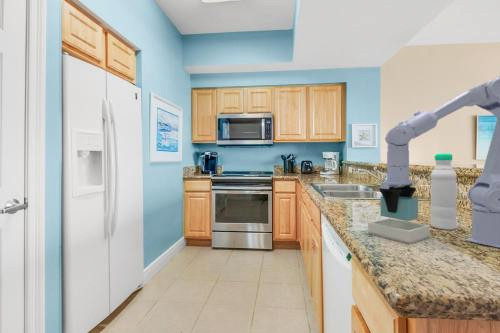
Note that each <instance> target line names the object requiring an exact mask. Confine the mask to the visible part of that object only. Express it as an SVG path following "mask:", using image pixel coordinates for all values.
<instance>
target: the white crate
mask: <svg viewBox="0 0 500 333" xmlns="http://www.w3.org/2000/svg"><path fill="white" fill-rule="evenodd" d="M367 225H368V226H367V228H368V229H367V234H369V235H371V236H372V235H373V236H375V237H376V236H377V237H379V238H383V239H388V240H393V241H395V242H399V243H403V244H407V245H411V244H414V243H418V242H420V241H423V240H426V239H430V238H431V237H430V236H431V235H430V234H431V233H430V230H431V229H430V226H431V225H427V224H422V223H416V222H412V221H404V220H399V219H394V218H389V217H386V218H383V219H382V218H381V219H379V220H374V221H369V222H367Z"/></svg>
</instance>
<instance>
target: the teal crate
mask: <svg viewBox="0 0 500 333" xmlns="http://www.w3.org/2000/svg"><path fill="white" fill-rule="evenodd" d="M380 216H381V217H384V218H391V219H396V220H401V221H407V222H411V221H414V220H417V219H419V198H418V197H417V198H416V197H411V198H410V197H402V196H399V199H398V205H397V211H396V213H391V212H388V210H387V206H386V202H385V200H384V197H383V195H382V196H380Z"/></svg>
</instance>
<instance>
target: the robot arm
mask: <svg viewBox="0 0 500 333" xmlns="http://www.w3.org/2000/svg"><path fill="white" fill-rule="evenodd" d="M474 106H477V107H478V108H480V109H483V110H486V111H487V112H489V113H491V114H492V115H493V116H494V117H495V118H496V122H495V125H494V129H493V133H492V136H491V140H490V144H489V147H488V151H487V153H486V154H487V155H486V158H485V161H484V165H483V169H482V172H481V174H480V175H479V176H478V177H477V178H476V180H475V182H474V184H473V186H471V187H470V189H469V190H468V193H467V197H468V200H469V201H470V202H471V203H472V209H471V212H472V213H471V232H472V233H471V237H467V238H466V239H465V241H467V242H470V243H475V244H480V245H485V246H490V247H494V248H497V249H498V248H499V249H500V75H499V76H497V77H495V78H493V79H491V80H490V81H485V82H484V83H482V84H479V85H477V86H474V87H472V88H470V89H467V90H466V91H464V92H462V93H461V94H458V95H457V96H455V97H454V98H452V99H450V100H449V101H447V102H445V103H444V104H442V105H440V106H438V107H437V108H435V109H433V110H432V111H430V110H422V111H417V112H415V113H414V114H413V116H412V117H410V118H409V119H406V120H405V121H400V122H398V125H395V126H394V127H392V129H390V130H388V132H387V133H386V136H385V137H384V140H385V142H386V143H387V147H386V148H387V152H386V163H387V164H386V167H387V168H386V179H385V180H384V179H383V181H381V182H380V188H379V192H380V194H381V195H382V196H383V197H384V200H385V202H386V206H387V210H388V212H391V213H396V211H397V205H398V199H399V196H402V197H410V198H413V195H414V193H416V191H417V189H416V188H417V187H414V186H415V180H413V179H410V151H409V143H410V142H411V140H412V139H416V138H418V137H420V136H422V135H423V134H426V133H427V132H429V131H431V130H432V129H435V128H436V126H437V125H438V121H439V120H441V119H443V118H445V117H446V116H449V115H450V114H452V113H454V112H456V111H458V110H461V109H462V108H464V107H474Z"/></svg>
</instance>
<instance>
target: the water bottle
mask: <svg viewBox="0 0 500 333" xmlns="http://www.w3.org/2000/svg"><path fill="white" fill-rule="evenodd" d="M434 161H435V163H436V164H435V166H434V167H433V170H432V171H431V173H430V220H429V221H430V222H429V223H430V226H431V227H432V228H435V229H440V230H445V231H446V230H447V231H451V230H456V229H457V226H458V225H457V222H458V221H457V215H458V214H457V212H458V211H457V200H458V199H457V196H458V187H457V185H458V184H457V178H458V175H457V172H456V170H455V169H454V167H453V166H452V162H453V154H452V153H435V155H434Z"/></svg>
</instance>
